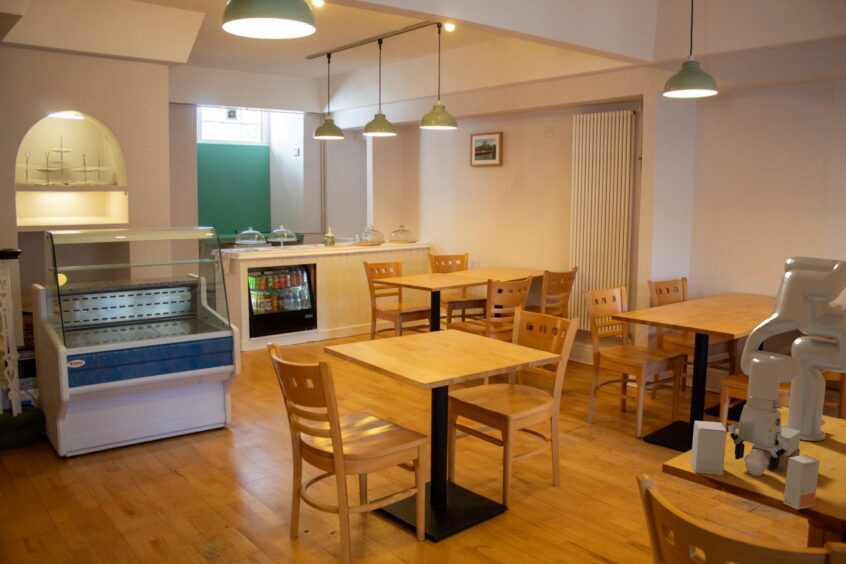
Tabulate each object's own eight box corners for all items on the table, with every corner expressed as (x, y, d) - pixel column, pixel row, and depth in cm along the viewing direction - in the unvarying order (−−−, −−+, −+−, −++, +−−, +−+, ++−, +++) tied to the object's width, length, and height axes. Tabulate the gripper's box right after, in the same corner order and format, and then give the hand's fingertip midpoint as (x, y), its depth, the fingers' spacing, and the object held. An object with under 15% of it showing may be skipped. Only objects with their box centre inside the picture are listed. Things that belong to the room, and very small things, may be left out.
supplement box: (723, 475, 197) (727, 430, 195) (694, 473, 198) (698, 428, 196) (718, 465, 204) (722, 422, 202) (690, 462, 205) (693, 419, 204)
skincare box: (797, 510, 177) (802, 463, 175) (782, 503, 180) (787, 457, 179) (815, 506, 179) (820, 460, 177) (800, 499, 183) (805, 454, 181)
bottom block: (767, 455, 213) (768, 439, 213) (798, 465, 206) (800, 449, 205) (750, 462, 208) (752, 445, 207) (782, 472, 201) (783, 455, 200)
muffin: (748, 467, 204) (750, 443, 203) (771, 473, 199) (773, 449, 198) (739, 472, 199) (741, 448, 198) (762, 479, 195) (764, 454, 194)
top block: (765, 439, 212) (767, 423, 212) (798, 448, 206) (800, 430, 206) (754, 446, 206) (755, 429, 205) (787, 455, 200) (789, 438, 199)
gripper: (801, 409, 192) (794, 472, 194) (739, 393, 206) (733, 451, 208) (786, 414, 187) (779, 477, 189) (724, 397, 201) (719, 456, 203)
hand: (755, 464), depth 199 cm, fingers open, 9 cm apart
